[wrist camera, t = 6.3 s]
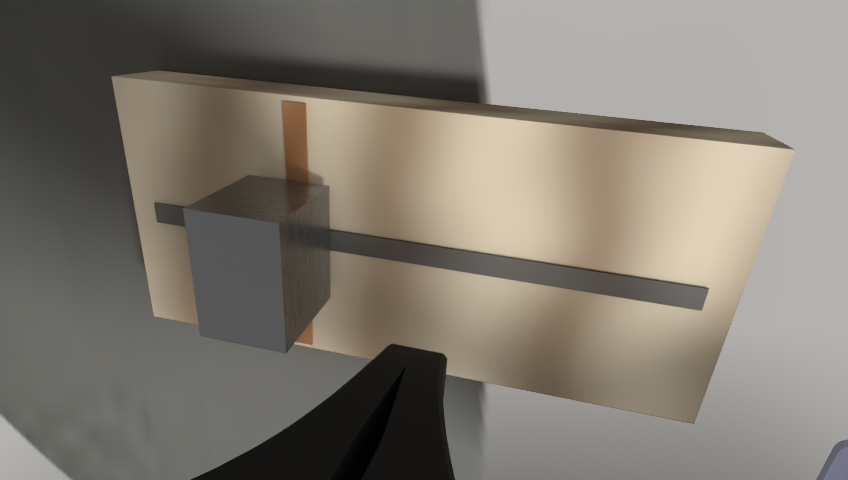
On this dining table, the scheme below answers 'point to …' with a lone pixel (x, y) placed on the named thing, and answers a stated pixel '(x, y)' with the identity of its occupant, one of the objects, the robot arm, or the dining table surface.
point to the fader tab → (260, 260)
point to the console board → (477, 227)
